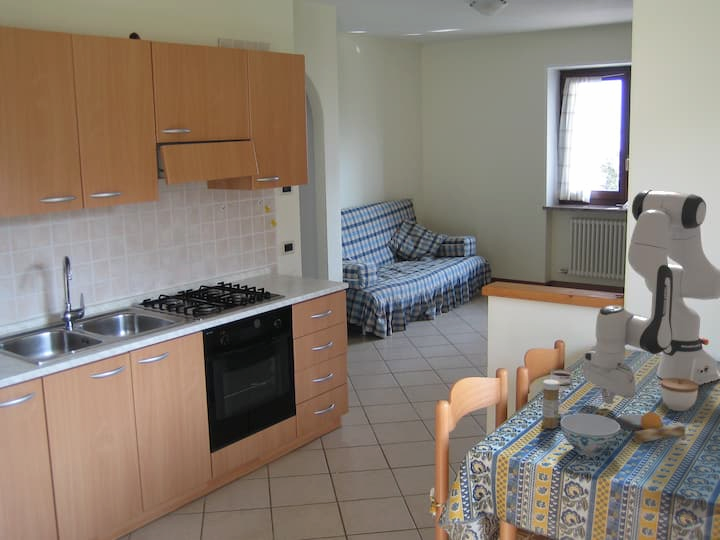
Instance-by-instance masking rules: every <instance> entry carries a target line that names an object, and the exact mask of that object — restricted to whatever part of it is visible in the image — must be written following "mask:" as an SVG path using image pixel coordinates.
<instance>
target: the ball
mask: <svg viewBox="0 0 720 540" xmlns="http://www.w3.org/2000/svg"><path fill="white" fill-rule="evenodd" d="M661 424H663V422H662V418H661V417H660V415H658V414H657V413H655V412H652V411H650V412H645V413H644V414H643V415H642V418H641V425H642V427H643V428H644V429H645V430H646V429H651V428H657V427H661Z"/></svg>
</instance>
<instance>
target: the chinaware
mask: <svg viewBox="0 0 720 540" xmlns="http://www.w3.org/2000/svg"><path fill="white" fill-rule="evenodd" d="M560 428H561V432H562V434H563V437H564V438H565V439H566V441H567V443H568V444H569V445H570V446H572V447H573V448H574V449H575V452H576V451H577V452H578V453H577V452H576V453H577V454H579V453H580V454H579V455H581V454H583V455H582V456H584V455H587V456H586V457H591V456H593V457H599V456H601V455H602V454H603V452H604V451H606V450H608V449H609V448H610V447H611V446H613V444H614V443H615V441H616V440H617V438H618V436H619V433H620V431H621V426H620V425H619V424H618V423H617V422H616V421H615V419H612V418H609V417H607V416H603V415H599V414H594V413H593V414H592V413H573V414H568V415H566V416H564V417H562V418H561V420H560ZM598 455H599V456H598Z"/></svg>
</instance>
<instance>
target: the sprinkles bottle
mask: <svg viewBox="0 0 720 540" xmlns="http://www.w3.org/2000/svg"><path fill="white" fill-rule="evenodd" d="M559 385H560V384H559V381H557V380H551V379H550V378H549V379H545V380H543V381H542V388H543V394H542V423H541V426H543V427H544V428H546V429H556V428H558V427H559V424H558V421H559V420H558V419H559V414H558V408H560V391H559Z"/></svg>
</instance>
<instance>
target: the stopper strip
mask: <svg viewBox="0 0 720 540" xmlns="http://www.w3.org/2000/svg"><path fill="white" fill-rule="evenodd" d="M685 434H686V425H685V424H682V423H680V422H679V423H675V424H669V425H663V427H657V428H651V429H646V430H640V431H634V432H633V441H634V442H636V443H639V444H641V443H646V442H651V441H657V440H662V439H668V438H673V437H677V436H678V437H679V436H683V435H685Z"/></svg>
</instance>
